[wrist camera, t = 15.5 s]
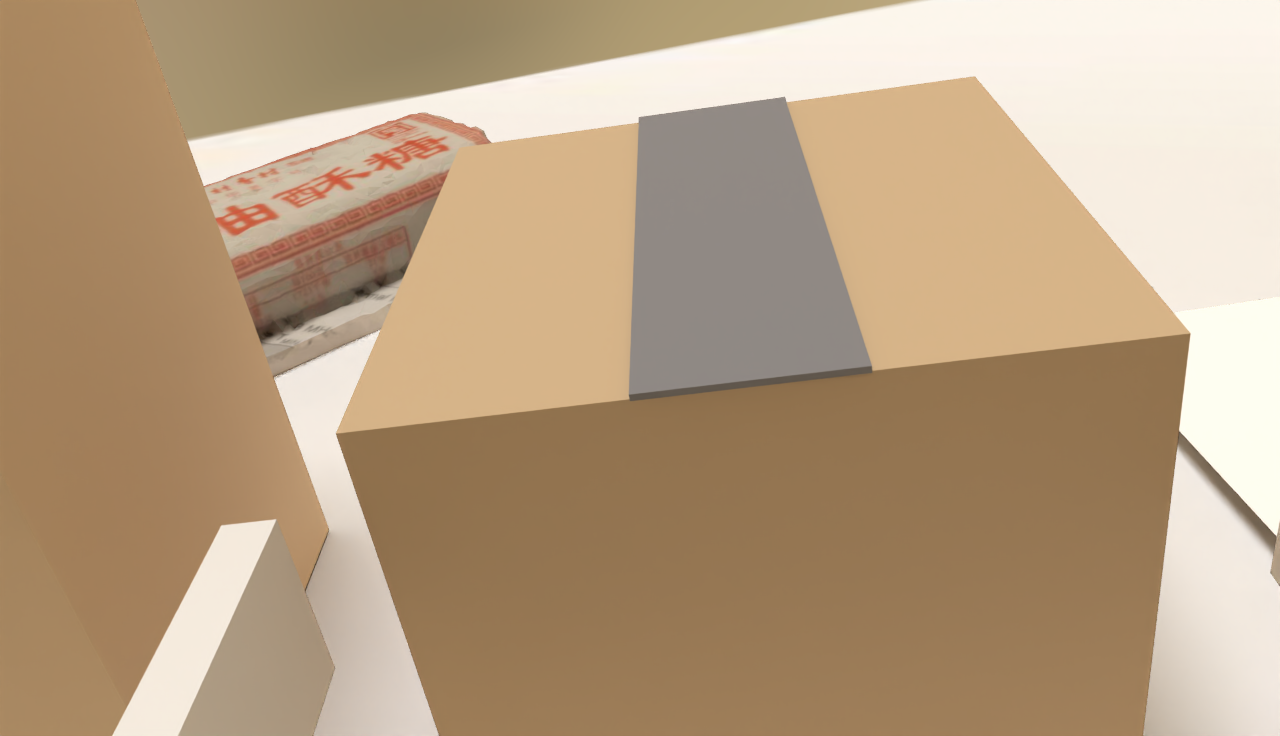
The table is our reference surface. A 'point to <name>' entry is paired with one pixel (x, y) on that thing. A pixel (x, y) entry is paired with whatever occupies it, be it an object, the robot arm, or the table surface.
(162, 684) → the robot arm
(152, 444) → the tan tall box
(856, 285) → the brown cardboard block
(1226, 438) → the paper sheet
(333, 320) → the packaged product
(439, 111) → the table surface
